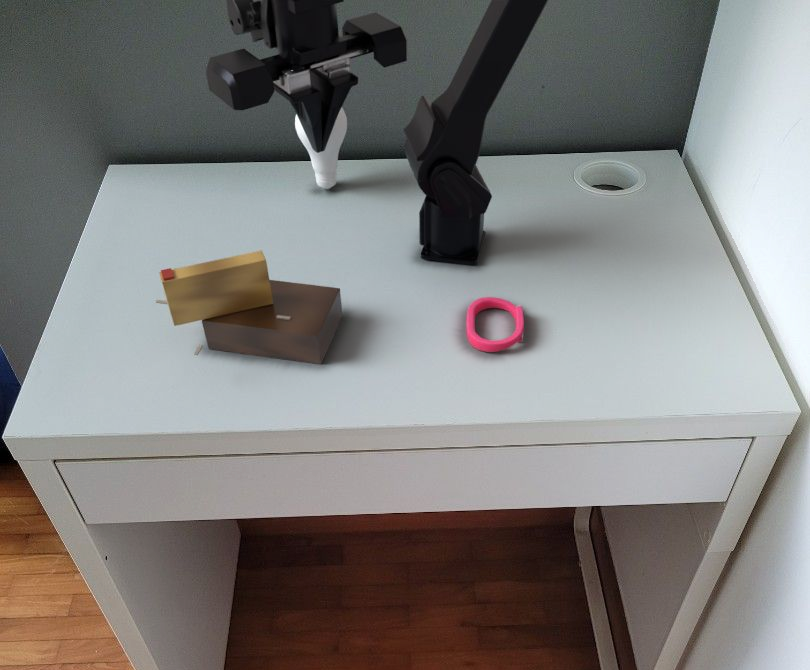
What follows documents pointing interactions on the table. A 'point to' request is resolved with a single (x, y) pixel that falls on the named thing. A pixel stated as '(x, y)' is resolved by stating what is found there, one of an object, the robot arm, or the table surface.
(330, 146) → the lightbulb
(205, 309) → the tap handle
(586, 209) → the table surface
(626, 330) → the table surface
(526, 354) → the table surface
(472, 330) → the fitness band
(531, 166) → the table surface
